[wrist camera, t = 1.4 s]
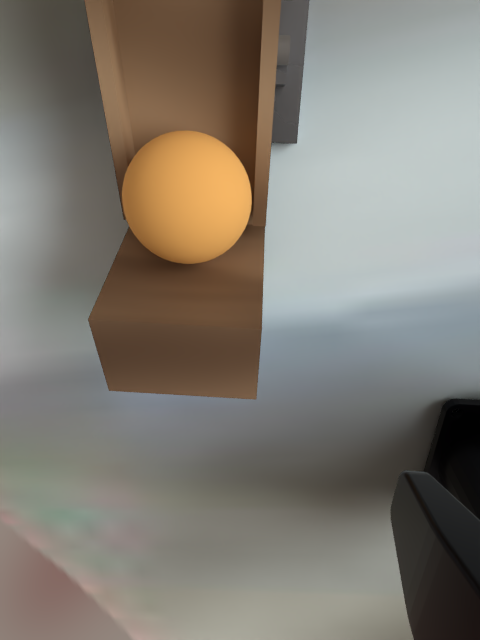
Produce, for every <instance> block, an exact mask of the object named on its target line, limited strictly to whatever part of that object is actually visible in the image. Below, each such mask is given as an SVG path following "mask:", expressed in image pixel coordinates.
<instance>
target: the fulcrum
mask: <svg viewBox="0 0 480 640" xmlns="http://www.w3.org/2000/svg"><path fill="white" fill-rule="evenodd" d="M308 8H309V0H281V10H280V25H279V35H290V36H291V38H290V54H289V63H288V65H277V68H276V82H275V96H274V110H273V125H272V139H271V142H276V143H297V135H298V123H299V112H300V100H301V89H302V77H303V66H304V54H305V43H306V31H307V20H308Z"/></svg>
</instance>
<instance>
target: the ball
mask: <svg viewBox="0 0 480 640" xmlns="http://www.w3.org/2000/svg"><path fill="white" fill-rule="evenodd" d="M122 203H123V209H124V214H125V217H126V220H127V222H128V224H129V227H130V229H131V230H132V232H133V233H134V235H135V236H136V237H137V239H138V240H139V241H140V242H141V243H142V244H143V245H144V246H145V247H146V248H147V249H148V250H149V251H151V252H152V253H154V254H155V255H157V256H159V257H161V258H163V259H165V260H168V261H171V262H176V263H182V264H195V263H202V262H206V261H209V260H212V259H214V258H216V257H218V256H220V255H222V254H223V253H225V252H226V251H227V250H229V249H230V248H231V247H232V246H233V245H234V244H235V243H236V241H237V240H238V239H239V238H240V236H241V235H242V233H243V231H244V230H245V227H246V225H247V223H248V219H249V216H250V212H251V204H252V195H251V187H250V182H249V179H248V175H247V173H246V171H245V168H244V167H243V165H242V163H241V162H240V160H239V159H238V157H237V156H236V155H235V154H234V152H233V151H232V150H231V149H230V148H229V147H228V146H226V145H225V144H224V143H222V142H221V141H219V140H218V139H216V138H214V137H212V136H210V135H207V134H205V133H201V132H197V131H187V130H186V131H174V132H169V133H165V134H162V135H160V136H158V137H156V138H154V139H153V140H151V141H150V142H148V143H147V144H145V145H144V146H143V147H142V148H141V149H140V150H139V151H138V152H137V154H136V155H135V156H134V157H133V159H132V161H131V162H130V164H129V166H128V168H127V171H126V173H125V177H124V181H123V186H122Z"/></svg>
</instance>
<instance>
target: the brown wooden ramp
mask: <svg viewBox="0 0 480 640" xmlns="http://www.w3.org/2000/svg"><path fill="white" fill-rule="evenodd" d="M84 1H85V6H86V12H87V17H88V23H89V29H90V34H91V40H92V45H93V51H94V56H95V62H96V67H97V73H98V78H99V84H100V90H101V95H102V101H103V106H104V112H105V117H106V123H107V128H108V134H109V140H110V145H111V151H112V156H113V162H114V167H115V173H116V178H117V184H118V189H119V195H120V201H121V206H122V212H123V217H124V220H126V217H125V214H124V209H123V203H122V186H123V181H124V177H125V173H126V171H127V168H128V166H129V164H130V162H131V161H132V159H133V157H134V156H135V155H136V154H137V152H138V151H139V150H140V149H141V148H142V147H143V146H144V145H145V144H147V143H148V142H150V141H151V140H153V139H154V138H156V137H158V136H160V135H162V134H165V133H169V132H174V131H186V130H187V131H197V132H201V133H205V134H207V135H210V136H212V137H214V138H216V139H218V140H219V141H221V142H222V143H224V144H225V145H226V146H228V147H229V148H230V149H231V150H232V151H233V152H234V154H235V155H236V156H237V157H238V159H239V160H240V162H241V163H242V165H243V167H244V168H245V171H246V173H247V175H248V179H249V182H250V187H251V195H252V204H251V212H250V216H249V219H248V223H247V225H246V227H245V230H244V231H243V233H242V235H241V236H240V238H239V239H238V240H237V241H236V243H235V244H234V245H233V246H232V247H231V248H230V249H229V250H227V251H226V252H225V253H223V254H222V255H220V256H218V257H216V258H214V259H212V260H209V261H206V262H202V263H195V264H182V263H176V262H171V261H168V260H165V259H163V258H161V257H159V256H157V255H155V254H154V253H152V252H151V251H149V250H148V249H147V248H146V247H145V246H144V245H143V244H142V243H141V242H140V241H139V240H138V239H137V237H136V236H135V235H134V233H133V232H132V230H131V229H130V227H129V228H128V230H127V233H126V235H125V237H124V239H123V242H122V244H121V246H120V249H119V251H118V253H117V255H116V258H115V260H114V262H113V264H112V267H111V269H110V271H109V273H108V276H107V278H106V280H105V282H104V285H103V287H102V289H101V292H100V294H99V296H98V298H97V301H96V303H95V305H94V307H93V310H92V312H91V314H90V316H89V319H88V321H89V324H90V328H91V331H92V334H93V338H94V341H95V345H96V348H97V351H98V355H99V358H100V361H101V365H102V368H103V372H104V375H105V378H106V382H107V385H108V389H109V391H124V392H140V393H157V394H174V395H191V396H207V397H224V398H241V399H256V396H257V383H258V370H259V357H260V344H261V331H262V302H263V270H264V238H265V225H266V210H267V196H268V182H269V168H270V153H271V139H272V125H273V110H274V96H275V82H276V68H277V65H288V63H289V54H290V38H291V36H290V35H279V25H280V10H281V0H84Z"/></svg>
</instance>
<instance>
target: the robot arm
mask: <svg viewBox="0 0 480 640" xmlns="http://www.w3.org/2000/svg"><path fill="white" fill-rule="evenodd" d="M455 409H459V410H458V411H457V412H453V413H452V411H453V410H455ZM391 523H392V529H393V535H394V541H395V546H396V552H397V558H398V564H399V569H400V575H401V581H402V587H403V592H404V598H405V604H406V609H407V614H408V619H409V623H410V627H411V631H412V635H413V638H414V640H480V400H470V399H451V400H449V401H447V402H446V403H445V404H444V405H443V407H442V411H441V414H440V418H439V421H438V425H437V428H436V432H435V435H434V439H433V442H432V446H431V449H430V453H429V456H428V460H427V463H426V467H425V470H424V472H420V471H403V472H401V474H400V475H399V478H398V482H397V486H396V489H395V493H394V497H393V501H392V505H391Z"/></svg>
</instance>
